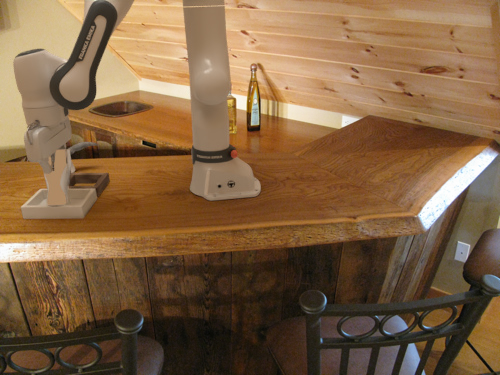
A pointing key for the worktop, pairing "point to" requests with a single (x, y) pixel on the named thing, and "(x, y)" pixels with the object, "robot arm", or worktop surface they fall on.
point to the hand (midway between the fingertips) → (55, 166)
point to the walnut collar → (90, 181)
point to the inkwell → (77, 148)
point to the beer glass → (59, 178)
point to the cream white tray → (77, 208)
